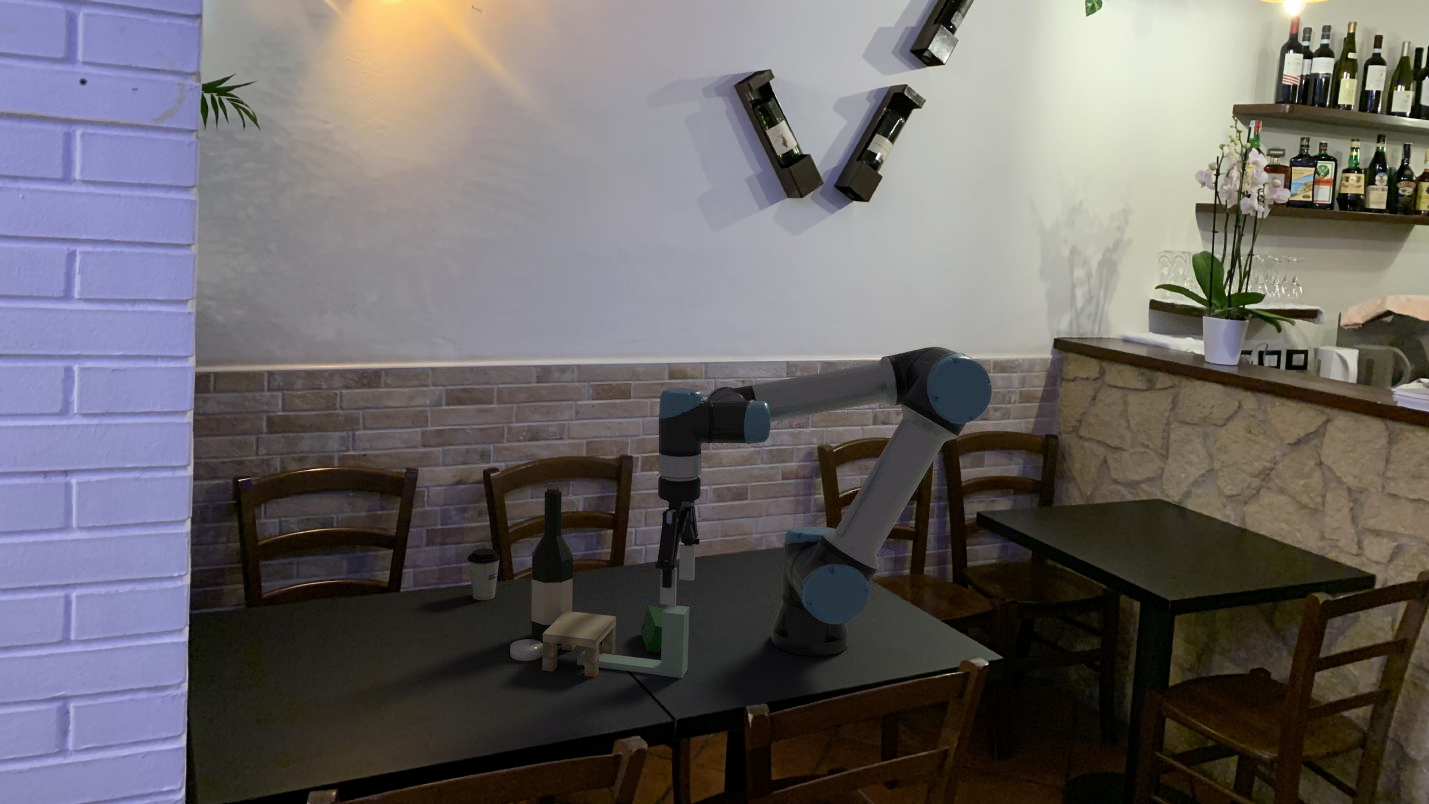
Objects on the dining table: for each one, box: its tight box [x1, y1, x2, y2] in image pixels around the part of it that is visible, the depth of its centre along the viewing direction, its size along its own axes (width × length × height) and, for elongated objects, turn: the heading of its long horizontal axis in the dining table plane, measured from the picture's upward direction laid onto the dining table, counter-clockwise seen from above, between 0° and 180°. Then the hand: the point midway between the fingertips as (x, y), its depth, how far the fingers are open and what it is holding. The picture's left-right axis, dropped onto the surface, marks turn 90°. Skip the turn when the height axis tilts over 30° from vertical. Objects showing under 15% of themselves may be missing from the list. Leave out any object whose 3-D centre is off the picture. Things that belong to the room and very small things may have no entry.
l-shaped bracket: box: [576, 604, 690, 679], centre depth 196 cm, size 20×4×12 cm, turn 78°
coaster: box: [509, 638, 543, 662], centre depth 201 cm, size 6×6×2 cm
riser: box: [542, 610, 617, 678], centre depth 198 cm, size 10×12×7 cm
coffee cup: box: [466, 547, 501, 601], centre depth 230 cm, size 7×7×10 cm
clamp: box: [640, 605, 665, 654], centre depth 208 cm, size 12×6×9 cm
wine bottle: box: [530, 486, 574, 646], centre depth 207 cm, size 8×8×30 cm
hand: (677, 591), depth 192 cm, fingers open, 13 cm apart
